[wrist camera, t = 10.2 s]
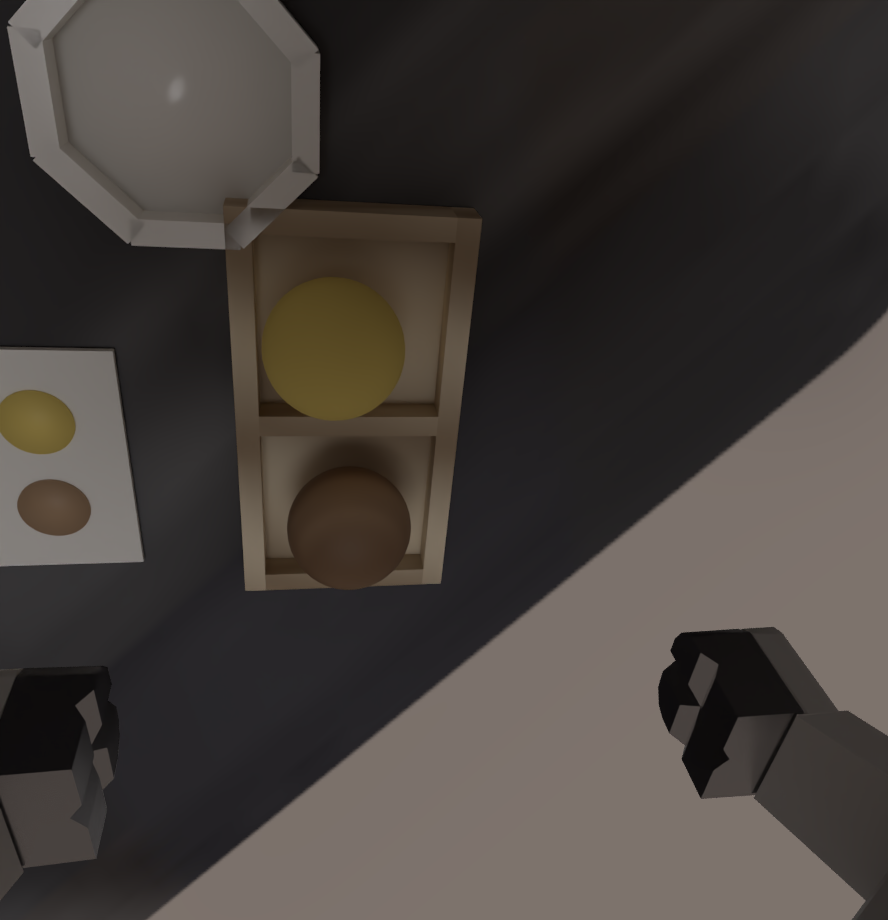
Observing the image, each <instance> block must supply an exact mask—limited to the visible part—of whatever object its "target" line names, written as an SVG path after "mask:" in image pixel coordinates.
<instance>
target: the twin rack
mask: <svg viewBox="0 0 888 920" xmlns="http://www.w3.org/2000/svg"><path fill="white" fill-rule="evenodd" d="M247 204H248V199H241V198H225V201H224V204H223V217H224V225H225V224H226V223H227V224H226V225H227V226H228V225H229V224H230V223H231V222H234V221H235V220H236V219H237V218H236V217H239V216H238V215H239V214H241V213H242V215H243V214H244V212H242V211H243V210H244V209H246V207H247ZM250 209H254V208H252V207H250ZM258 209H259V208H256V209H255V210H256V211H257V210H258ZM265 209H266V208H265ZM265 209H264V208H263V209H262V211H263V210H264V211H265V213H263V214H262V211H261V209H260V210H258V211H259V212H258V211H257V212H258V213H260V215H261V214H262V217H263V219H264V220H265V221H266V220H267V219H268V218H270V217H267V216H266V217H267V219H266V218H265V217H264V214H266V213H267V212H268V211H269V212H270V213H271V214H272V215H275V214H273V213H272V212H273V211H272V210H270V208H267V209H266V210H265ZM271 209H272V208H271ZM255 210H254V211H253V210H250V211H252V212H255ZM275 210H276V209H274V212H275V213H276V215H278V216H277V217H274V216H273V217H274V218H272V219H274V220H271V218H270V221H272V222H270V224H268V226H267V227H266V228H265V229H264V230H262V232H261V233H260V234H259V233H258V234H259V235H258V236H257V237H256V238H255V239H254V240H252V241H251V242H250V243H249V244H248V245H247V246H246V247H245V248H244V249H243V248H242V247H241V246H240V247H241V250H240V249H239V250H238V248H239V246H238V248H236V250H233V249H235V248H233V249H232V250H231V248H232V247H233V245H232V244H231V243H230V241H229V240H230V239H229V240H228V238H229V236H230V235H229V234H228V233H226V235H227V234H228V235H227V237H228V238H226V239H227V240H228V241H229V242H228V243H230V244H231V248H230V247H229V248H230V249H229V250H228V249H225V251H226V268H227V285H228V302H229V319H230V336H231V353H232V370H233V387H234V404H235V421H236V438H237V455H238V472H239V489H240V506H241V523H242V540H243V557H244V574H245V591H257V590H283V589H309V588H331V587H328V586H325V585H323V584H321V583H319V582H317V581H316V580H314V579H313V578H311V577H310V576H309V575H308V574H307V573H306V572H305V571H304V570H303V569H302V568H301V567H300V566H299V564H298V563H297V561H296V560H295V558H294V556H293V554H292V552H291V549H290V546H289V542H288V535H287V521H288V515H289V511H290V508H291V506H292V503H293V501H294V499H295V497H296V496H297V494H298V493H299V491H300V490H301V489H302V488H303V486H304V485H306V484H307V483H308V482H309V481H310V480H311V479H313V478H314V477H315V476H317V475H319V474H320V473H322V472H325V471H327V470H330V469H333V468H338V467H345V466H355V467H362V468H366V469H370V470H372V471H374V472H377V473H379V474H380V475H382V476H384V477H385V478H387V479H388V480H389V481H390V482H391V483H392V484H393V485H394V486H395V487H396V488H397V489H398V490H399V492H400V493H401V495H402V496H403V498H404V500H405V502H406V505H407V507H408V511H409V514H410V520H411V534H410V541H409V544H408V547H407V550H406V553H405V555H404V557H403V559H402V560H401V562H400V563H399V565H398V566H397V567H396V568H395V569H394V571H393V572H391V573H390V574H389V575H388V576H387V577H386V578H384V579H383V580H381V581H379V582H378V583H376V584H373V585H371V586H387V585H413V584H438V583H441V576H442V567H443V558H444V549H445V541H446V532H447V523H448V515H449V506H450V497H451V488H452V480H453V471H454V462H455V453H456V445H457V436H458V427H459V419H460V410H461V401H462V392H463V384H464V375H465V366H466V358H467V349H468V340H469V331H470V323H471V314H472V305H473V296H474V288H475V279H476V270H477V262H478V253H479V244H480V235H481V227H482V218H481V217H480V215H479V214H478V213H477V211H476V210H475V209H474V208H461V207H442V206H423V205H404V204H386V203H367V202H348V201H329V200H311V199H295V200H294V201H293V202H292V203H291V204H290V205H289V206H288V207H287V208H286V209H284V211H282V210H281V209H279V210H278V211H281V213H278V211H277V210H276V211H275ZM245 211H246V210H245ZM264 211H263V212H264ZM266 211H267V212H266ZM271 211H272V212H271ZM269 212H268V213H267V214H266V215H268V214H269ZM246 213H247V212H246ZM248 213H249V212H248ZM250 213H251V212H250ZM277 213H278V214H277ZM252 214H253V213H252ZM252 214H251V216H252V218H254V217H253V216H255V215H256V216H257V214H256V212H255V213H254V214H255V215H254V214H253V215H252ZM258 215H259V214H258ZM269 215H270V214H269ZM269 215H268V216H269ZM244 216H245V215H244ZM246 216H247V215H246ZM256 216H255V217H256ZM240 217H242V216H240ZM248 217H249V215H248ZM257 217H258V219H259V218H260V217H259V216H257ZM235 218H236V219H235ZM243 218H244V217H243ZM245 218H246V217H245ZM234 219H235V220H234ZM256 219H257V218H256ZM256 219H255V218H254V220H255V222H256ZM233 220H234V221H233ZM240 220H242V219H240ZM259 220H260V222H261V221H262V219H259ZM236 221H238V222H240V221H239V220H236ZM262 222H263V221H262ZM262 222H261V223H262ZM267 222H268V221H267ZM245 223H246V221H245V222H244V223H243V224H245ZM248 223H249V222H248ZM236 224H237V223H236ZM239 224H240V223H239ZM246 224H247V223H246ZM251 224H252V227H253V223H251ZM257 224H258V222H257ZM264 225H265V224H264ZM230 226H231V224H230ZM230 226H229V227H230ZM237 226H238V224H237ZM241 226H242V224H241ZM258 226H259V225H258ZM243 227H244V225H243ZM248 227H249V226H248ZM232 228H235V226H234V227H232ZM239 228H240V227H239ZM227 229H229V228H227ZM227 229H226V226H224V230H225V231H224V232H226V230H227ZM240 229H241V228H240ZM244 229H245V228H244ZM255 229H256V228H255ZM234 230H235V229H234ZM239 231H240V230H239ZM241 231H242V230H241ZM248 231H249V230H248ZM250 231H252V230H250ZM227 232H229V231H227ZM230 232H231V233H232V232H233V233H234V231H230ZM235 232H236V230H235ZM257 232H259V231H257ZM234 234H235V233H234ZM238 234H239V233H238ZM243 234H244V233H243ZM245 234H246V233H245ZM250 234H251V233H250ZM253 234H254V233H253ZM226 235H225V237H226ZM240 235H241V234H240ZM248 235H249V234H248ZM231 236H232V235H231ZM234 236H235V235H234ZM230 238H231V239H232V240H233V237H230ZM245 238H246V237H245ZM226 239H225V242H227V241H226ZM236 239H237V238H236ZM240 239H241V237H240ZM246 239H247V238H246ZM236 242H237V241H236ZM238 242H239V241H238ZM232 243H233V242H232ZM234 243H235V241H234ZM225 244H226V243H225ZM230 244H229V245H230ZM235 244H236V243H235ZM239 245H241V244H239ZM242 245H245V244H242ZM225 246H226V247H228V246H227V244H226V245H225ZM322 277H341V278H347V279H351V280H354V281H357V282H360V283H362V284H364V285H366V286H368V287H370V288H371V289H373V290H374V291H376V292H377V293H378V294H379V295H381V296H382V297H383V298H384V299H385V300H386V301H387V302H388V304H389V305H390V306H391V308H392V309H393V311H394V312H395V314H396V316H397V318H398V320H399V322H400V325H401V327H402V331H403V334H404V340H405V361H404V366H403V369H402V373H401V376H400V378H399V381H398V383H397V384H396V386H395V388H394V389H393V391H392V392H391V394H390V395H389V396H388V397H387V398H386V399H385V400H384V401H383V402H382V403H381V404H380V405H379V406H377V407H376V408H375V409H373V410H372V411H370V412H368V413H366V414H364V415H361V416H359V417H356V418H353V419H348V420H340V421H329V420H321V419H317V418H313V417H310V416H308V415H306V414H303V413H301V412H299V411H298V410H296V409H294V408H293V407H292V406H290V405H289V404H288V403H287V402H286V401H284V400H283V399H282V398H281V397H280V395H279V394H278V393H277V392H276V390H275V389H274V387H273V386H272V384H271V382H270V381H269V379H268V376H267V374H266V371H265V368H264V364H263V360H262V335H263V330H264V327H265V324H266V321H267V318H268V316H269V315H270V313H271V311H272V309H273V308H274V307H275V305H276V304H277V302H278V301H279V300H280V299H281V298H282V297H283V296H284V295H285V294H286V293H288V292H289V291H290V290H292V289H293V288H294V287H296V286H298V285H300V284H302V283H304V282H307V281H310V280H313V279H317V278H322Z"/></svg>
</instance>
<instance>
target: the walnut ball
mask: <svg viewBox="0 0 888 920" xmlns="http://www.w3.org/2000/svg"><path fill="white" fill-rule="evenodd" d="M410 534H411V520H410V514H409V511H408V507H407V505H406V502H405V500H404V498H403V496H402V495H401V493H400V492H399V490H398V489H397V488H396V487H395V486H394V485H393V484H392V483H391V482H390V481H389V480H388V479H387V478H385V477H384V476H382V475H380V474H379V473H377V472H374V471H372V470H370V469H366V468H362V467H355V466H345V467H338V468H333V469H330V470H327V471H325V472H322V473H320V474H319V475H317V476H315V477H314V478H313V479H311V480H310V481H309V482H308V483H307V484H306V485H304V486H303V488H302V489H301V490H300V491H299V493H298V494H297V496H296V497H295V499H294V501H293V503H292V506H291V508H290V511H289V515H288V521H287V535H288V542H289V546H290V549H291V552H292V554H293V556H294V558H295V560H296V561H297V563H298V564H299V566H300V567H301V568H302V569H303V570H304V571H305V572H306V573H307V574H308V575H309V576H310V577H311V578H313V579H314V580H316V581H317V582H319V583H321V584H323V585H325V586H328V587H331V588H336V589H343V590H353V589H361V588H365V587H368V586H371V585H373V584H376V583H378V582H379V581H381V580H383V579H384V578H386V577H387V576H388V575H389V574H390V573H391V572H393V571H394V569H395V568H396V567H397V566H398V565H399V563H400V562H401V560H402V559H403V557H404V555H405V553H406V550H407V547H408V544H409V541H410Z"/></svg>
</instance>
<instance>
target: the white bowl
mask: <svg viewBox="0 0 888 920" xmlns="http://www.w3.org/2000/svg"><path fill="white" fill-rule="evenodd" d="M8 23H9V24H10V25H11V26H7V29H8V35H9V40H10V46H11V52H12V57H13V63H14V68H15V74H16V79H17V85H18V90H19V96H20V101H21V107H22V112H23V118H24V123H25V129H26V135H27V140H28V146H29V151H30V157H35V159H34V160H33V161H34V162H35V163H36V164H37V165H38V166H40V167H41V168H42V169H43V170H44V171H45V172H46V173H48V174H49V175H50V176H51V177H52V178H53V179H54V180H56V181H57V182H58V183H59V184H60V185H61V186H62V187H63V188H65V189H66V190H67V191H68V192H69V193H70V194H71V195H73V196H74V197H75V198H76V199H77V200H78V201H79V202H81V203H82V204H83V205H84V206H85V207H86V208H87V209H89V210H90V211H91V212H92V213H93V214H94V215H95V216H96V217H98V218H99V219H100V220H101V221H102V222H103V223H104V224H106V225H107V226H108V227H109V228H110V229H111V230H112V231H114V232H115V233H116V234H117V235H118V236H119V237H120V238H122V239H123V240H124V241H125V242H126V243H127V244H129V243H130V242H131V246H154V247H178V248H203V249H228V250H229V249H230V248H231V244H232V245H233V247H232V248H231V250H232V249H233V248H235V249H233V250H236V248H238V246H239V248H238V250H239V249H240V250H241V247H242V248H243V249H244V248H245V247H246V246H247V245H248V244H249V243H250V242H251V241H252V240H254V239H255V238H256V237H257V236H258V235H259V234H260V233H261V232H262V230H264V229H265V228H266V227H267V226H268V224H270V222H272V221H270V218H271V220H274V219H272V218H274V217H277V216H278V215H276V213H275V212H274V209H276V210H277V211H278V210H279V209H281V210H282V211H284V209H286V208H287V207H288V206H289V205H290V204H291V203H292V202H293V201H294V200H295V199H296V198H297V197H298V196H299V195H300V194H301V193H302V192H303V191H304V190H305V189H306V188H307V187H308V186H309V185H311V184H312V183H313V182H314V181H315V180H316V179H317V178H318V174H319V162H320V52H319V49H318V46H317V45H316V44H315V42H314V41H313V40H312V39H311V37H310V36H309V35H308V34H307V33H306V31H305V30H304V29H303V28H302V27H301V25H300V24H299V23H298V22H297V21H296V19H295V18H294V17H293V16H292V14H291V13H290V12H289V11H288V10H287V8H286V7H285V6H284V5H283V4H282V2H281V1H280V0H26V1H25V2H24V4H23V5H22V6H21V7H20V8H19V10H18V11H17V12H16V13H15V14H14V15H13V17H12V18H11V19H10V20H9V21H8ZM225 198H241V199H248V204H247V207H246V209H244V210H243V211H242V212H244V214H243V215H242V213H241V214H239V215H238V216H239V217H236V218H237V219H236V218H235V219H236V220H239V221H240V222H238V221H236V220H235V219H234V220H235V221H234V220H233V221H234V222H231V223H230V224H231V226H230V224H229V225H228V226H227V225H226V224H227V223H226V224H225V225H224V217H223V204H224V201H225ZM250 207H252V208H254V209H250ZM256 208H259V209H258V210H260V209H261V211H262V209H263V208H264V209H265V208H266V209H267V208H270V210H272V211H273V212H272V211H271V212H272V213H273V214H275V215H272V214H271V213H270V212H269V211H268V212H269V214H270V215H269V214H268V215H269V216H268V215H266V214H267V213H268V212H267V211H266V212H267V213H266V214H264V217H265V218H266V219H267V217H270V218H268V219H267V220H266V221H265V220H264V219H263V217H262V214H263V213H265V211H264V210H263V211H264V212H263V211H262V214H261V215H260V213H258V212H259V211H258V210H257V211H258V212H257V211H256V210H255V209H256ZM271 208H272V209H271ZM266 209H265V210H266ZM245 210H246V211H245ZM250 210H253V211H254V210H255V212H256V214H257V216H259V217H260V218H259V219H262V221H263V222H262V221H261V222H262V223H261V222H260V220H259V219H258V217H257V216H256V215H255V214H254V213H255V212H252V211H250ZM276 210H275V211H276ZM246 212H247V213H246ZM248 212H249V213H248ZM250 212H251V213H250ZM252 213H253V214H254V215H255V216H256V217H255V216H253V217H254V218H255V219H256V218H257V219H256V222H255V220H254V218H252V216H251V214H252ZM278 213H281V211H278ZM278 213H277V214H278ZM253 214H252V215H253ZM258 214H259V215H258ZM244 215H245V216H244ZM246 215H247V216H246ZM248 215H249V217H248ZM240 216H242V217H240ZM266 216H267V217H266ZM273 216H274V217H273ZM243 217H244V218H243ZM245 217H246V218H245ZM240 219H242V220H240ZM245 221H246V223H247V224H246V223H245V224H243V223H244V222H245ZM267 221H268V222H267ZM248 222H249V223H248ZM257 222H258V224H257ZM236 223H237V224H238V226H237V224H236ZM239 223H240V224H239ZM251 223H253V227H252V224H251ZM241 224H242V226H241ZM264 224H265V225H264ZM243 225H244V227H243ZM258 225H259V226H258ZM224 226H226V229H227V228H229V229H227V230H226V232H224V231H225V230H224ZM229 226H230V227H229ZM234 226H235V228H232V227H234ZM248 226H249V227H248ZM239 227H240V228H241V229H240V228H239ZM244 228H245V229H244ZM255 228H256V229H255ZM234 229H235V230H236V232H235V230H234ZM239 230H240V231H239ZM241 230H242V231H241ZM248 230H249V231H248ZM250 230H252V231H250ZM227 231H229V232H227ZM230 231H234V233H235V234H234V233H233V232H232V233H231V232H230ZM257 231H259V232H257ZM226 233H228V234H229V235H230V236H229V238H228V237H227V235H228V234H227V235H226ZM238 233H239V234H238ZM243 233H244V234H243ZM245 233H246V234H245ZM250 233H251V234H250ZM253 233H254V234H253ZM258 233H259V234H258ZM240 234H241V235H240ZM248 234H249V235H248ZM225 235H226V237H225ZM231 235H232V236H231ZM234 235H235V236H234ZM230 237H233V240H232V239H231V238H230ZM240 237H241V239H240ZM245 237H246V238H247V239H246V238H245ZM226 238H228V240H229V239H230V240H229V241H230V243H231V244H230V243H228V242H229V241H228V240H227V239H226ZM236 238H237V239H236ZM225 239H226V241H227V242H225ZM234 241H235V243H236V244H235V243H234ZM236 241H237V242H236ZM238 241H239V242H238ZM232 242H233V243H232ZM225 243H226V244H227V246H228V247H226V246H225V245H226V244H225ZM229 244H230V245H229ZM239 244H241V245H239ZM242 244H245V245H242ZM240 246H241V247H240ZM229 247H230V248H229Z"/></svg>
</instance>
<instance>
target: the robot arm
mask: <svg viewBox="0 0 888 920" xmlns="http://www.w3.org/2000/svg"><path fill="white" fill-rule="evenodd" d="M671 653H672V654H673V656H674V658H675V660H676V661H675V662H673V663H672V664H671V665H670V666H669V667H667V668H666V669H665V670H664V671H663V673H662V676H661V680H660V683H659V686H658V690H659V692H658V693H659V707H660V711H661V714H662V718H663V720H664V723H665V725H666V727H667V729H668V731H669V733H670V734H671V735H672V736H674V737H675V738H676V739H678V740H679V741H680V742H681V743H683V744H684V745H685V748H684V751H683V755H682V761H683V763H684V765H685V767H686V769H687V771H688V773H689V775H690V777H691V779H692V781H693V783H694V785H695V788H696V790H697V792H698V794H699V796H700V798H701V799H704V798H718V797H733V796H746V795H755V797H754V799H756V800H757V801H758V802H759V803H760V804H761V805H762V806H763V807H764V808H766V809H767V810H768V811H769V812H770V813H771V814H772V815H773V816H774V817H775V818H776V819H777V820H778V821H780V822H781V823H782V824H783V825H784V826H785V827H786V828H787V829H788V830H790V832H792V833H793V834H794V835H795V836H796V837H797V838H798V839H800V840H801V841H802V842H803V843H804V844H805V845H806V846H807V847H808V848H809V849H810V850H811V851H812V852H813V853H815V854H816V855H817V856H818V857H819V858H820V859H821V860H822V861H823V862H825V864H827V865H828V866H829V867H830V868H831V869H832V870H833V871H834V872H835V873H836V874H838V875H839V876H840V877H841V878H842V879H843V880H844V881H845V882H846V883H847V884H848V885H850V886H851V887H852V888H853V889H854V890H855V891H856V892H857V893H858V894H859V895H861V896H862V897H863V898H864V899H865V900H866V901H865V903H864V904H863V905H862V907H861V908H860V909H859V911H858V912H857V914H856V915H855V916H854V918H853V919H852V920H888V736H887V735H885V734H883V733H882V732H881V731H879V730H877V729H875V728H874V727H872V726H871V725H869V724H868V723H866V722H865V721H863V720H862V719H860V718H858V717H857V716H855V715H854V714H852V713H850V712H849V711H838V710H837V708H836V707H835V706H834V704H833V703H832V701H831V700H830V699H829V697H828V696H827V694H826V693H825V692H824V690H823V689H822V687H821V686H820V685H819V683H818V682H817V681H816V679H815V678H814V676H813V675H812V674H811V672H810V671H809V670H808V668H807V667H806V665H805V664H804V663H803V661H802V660H801V658H800V657H799V656H798V654H797V653H796V651H795V650H794V649H793V648H792V646H791V645H790V643H789V642H788V640H787V639H786V638H785V636H784V635H783V634H782V633H781V632H780V631H779V630H777V629H776V628H774V627H766V628H749V629H741V630H740V629H729V630H716V631H700V632H685V633H681V634H680V635H679V636H677V637H676V638H675V640H674V643H673V646H672V648H671ZM111 685H112V683H111V679H110V675H109V671H108V667H105V666H79V667H48V668H23V669H4V670H0V900H1V899H2V898H3V896H4V895H5V894H6V893H7V892H8V890H9V889H10V888H11V887H12V886H13V884H14V883H15V882H16V881H17V879H18V878H19V877H20V876H21V875H22V873H23V869H22V868H26V867H34V866H42V865H50V864H58V863H66V862H74V861H82V860H90V859H96V856H97V852H98V847H99V843H100V838H101V834H102V830H103V825H104V821H105V816H106V812H107V808H106V803H105V799H104V795H103V789H104V788H105V787H106V786H107V785H108V784H109V783H110V782H111V781H112V780H113V779H114V775H115V770H116V765H117V760H118V750H119V738H120V732H119V718H118V712H117V707H116V706H115V705H113V704H112V703H111V702H109V701H108V698H109V694H110V689H111Z"/></svg>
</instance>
